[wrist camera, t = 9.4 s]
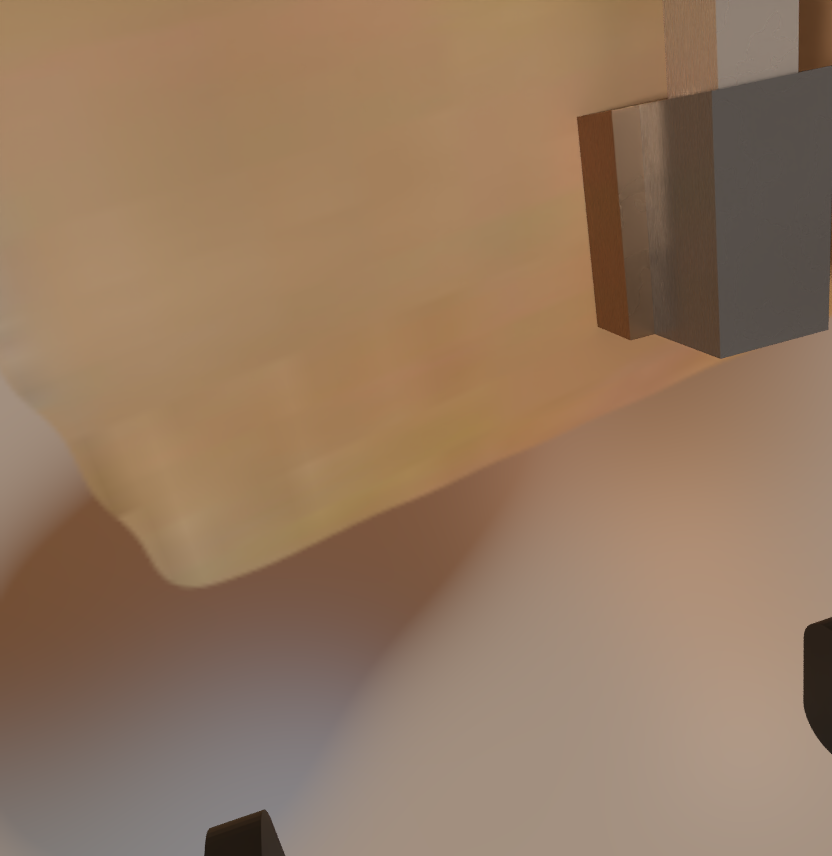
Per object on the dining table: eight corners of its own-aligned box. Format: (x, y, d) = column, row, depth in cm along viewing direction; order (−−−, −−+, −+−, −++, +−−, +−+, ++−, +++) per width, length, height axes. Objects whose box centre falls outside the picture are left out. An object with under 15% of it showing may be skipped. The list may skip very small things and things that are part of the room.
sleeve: (728, 292, 44) (854, 322, 35) (597, 326, 43) (692, 366, 34) (723, 86, 40) (864, 58, 31) (577, 117, 39) (679, 97, 30)
